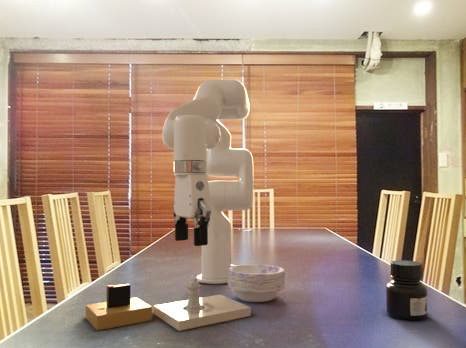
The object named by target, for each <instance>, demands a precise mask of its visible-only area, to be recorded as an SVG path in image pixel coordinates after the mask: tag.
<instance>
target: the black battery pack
mask: <svg viewBox="0 0 466 348" xmlns="http://www.w3.org/2000/svg"><path fill="white" fill-rule="evenodd" d="M130 298H131V284H130V283H124V284H123V283H122V284H116V285H113V284H108V285H107V286H106V302H107V307H108V308H113V307H119V306H125V305H130Z"/></svg>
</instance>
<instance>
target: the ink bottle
mask: <svg viewBox="0 0 466 348" xmlns="http://www.w3.org/2000/svg"><path fill="white" fill-rule="evenodd" d="M422 277H423V264H422V263H421V262H419V261H414V260H403V259H402V260H401V259H399V260H398V259H397V260H391V261H390V278H391V280H390V282H388V283H387V284H386V286H385V289H386V290H385V294H386V295H385V296H386V299H385V301H386V303H385V304H386V305H385V306H386V314H387V315H389V316H390V317H393V318H396V319H401V320H408V321H420V320H424V319H426V318H427V317H428V288H427V287H426V286H425V284H423V282H422V279H423V278H422Z"/></svg>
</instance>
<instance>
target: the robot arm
mask: <svg viewBox="0 0 466 348" xmlns="http://www.w3.org/2000/svg"><path fill="white" fill-rule="evenodd" d="M250 109H251V107H250V100H249V96H248V92H247V90H246V87H245V85H244V83H243V82H242V81H240V80H238V79H209V80H206V81H203V82H201V84H200V85H199V86H198V88H197V90H196V91H195V94H194V97H193V99H191V100H189V101H187V102H185V103H183V104H181V105H178V106H177V107H175V108H173V109H172V110H171V111H170V112H169V113H168V114H167V117H166V119H165V121H164V124H163V126H162V130H161V138H162V142H163V144H164V146H165V147H166V148H168V149H169V150H173V176H175V180H174V193H173V194H174V195H173V204H172V210H173V217H174V220H173V223H174V240H175V241H176V242H179V241H181V242H182V241H187V240H189V223H188V220H189V219H190V220H191V219H192V221H193V224H194V227H193V246H195V247H199V246H200V247H201V251H200V252H201V253H200V255H201V257H200V258H201V262H200V263H201V265H200V267H201V273H200V274H198V275H197V276H196V281H199V283H201V284H207V285H221V284H228V269H229V268H230V267H232V266H237V265H235V264H233V263H232V224H231V221H230V219H229V218H228V217H227V216H226V214H225V213H224V212H226V211H248V210H250V209H251V208H252V206H253V203H254V158H253V155H252V152H251V151H250V150H249V149H247V148H241V147H240V148H239V147H237V148H233V147H232V134H231V132H230V131H229V130H228V129H227V127H226V126H225V125H224V124H223V123H222V122H221V121H237V120H238V121H241V120H245V119H247V117H248V116H249V114H250ZM209 177H211V178H217V179H218V178H225V179H226V178H231V179H232V178H235V179H238V180H227V179H226V180H209V179H208V178H209Z"/></svg>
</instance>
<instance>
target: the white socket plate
mask: <svg viewBox="0 0 466 348" xmlns="http://www.w3.org/2000/svg"><path fill="white" fill-rule="evenodd" d="M199 301H200V305H201V307H202V308H203V310H200V311H186V310H185V308H186V305H187V303H188V299H186V300H185V299H184V300H179V301H173V302H168V303H162V304H155V305H153V315H154V316H156V317H157V318H159V319H161V321H163V322H165V323H166V324H168V326H171V327H172V328H174V329H175V330H177V331H178V332H180V331H185V330H190V329H194V328H200V327H204V326H209V325H215V324H219V323H223V322H228V321H234V320H239V319H242V318H246V317H251V306H248V305H247V304H244V303H241V302H239V301H236V300H234V299H232V298H230V297H227V296H224V295H222V294H215V295H209V296H203V297H199Z"/></svg>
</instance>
